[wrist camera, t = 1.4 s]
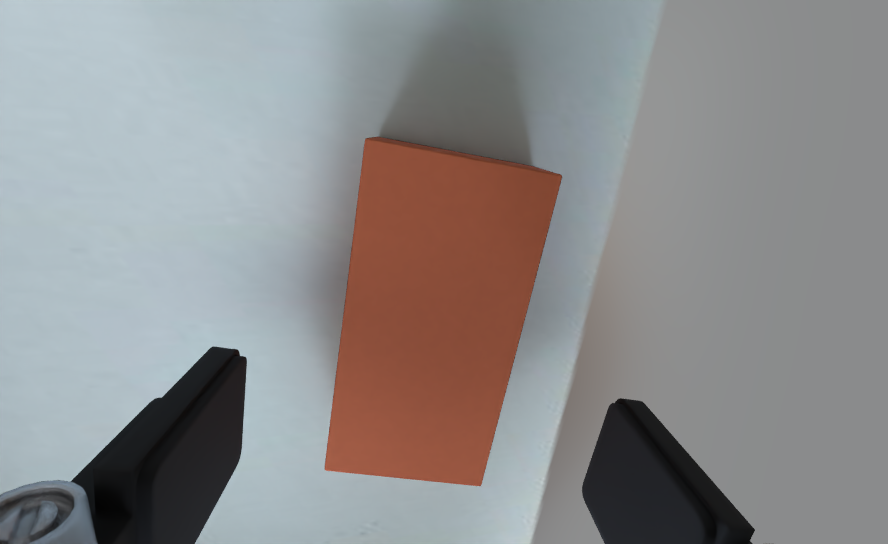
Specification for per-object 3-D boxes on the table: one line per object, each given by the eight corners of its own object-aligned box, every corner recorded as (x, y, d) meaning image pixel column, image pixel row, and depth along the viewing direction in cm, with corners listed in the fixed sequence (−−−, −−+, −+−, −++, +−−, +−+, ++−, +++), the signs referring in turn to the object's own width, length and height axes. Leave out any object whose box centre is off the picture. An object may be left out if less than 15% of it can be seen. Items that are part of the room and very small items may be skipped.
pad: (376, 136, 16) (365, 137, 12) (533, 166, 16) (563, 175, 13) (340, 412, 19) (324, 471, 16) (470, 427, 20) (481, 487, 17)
